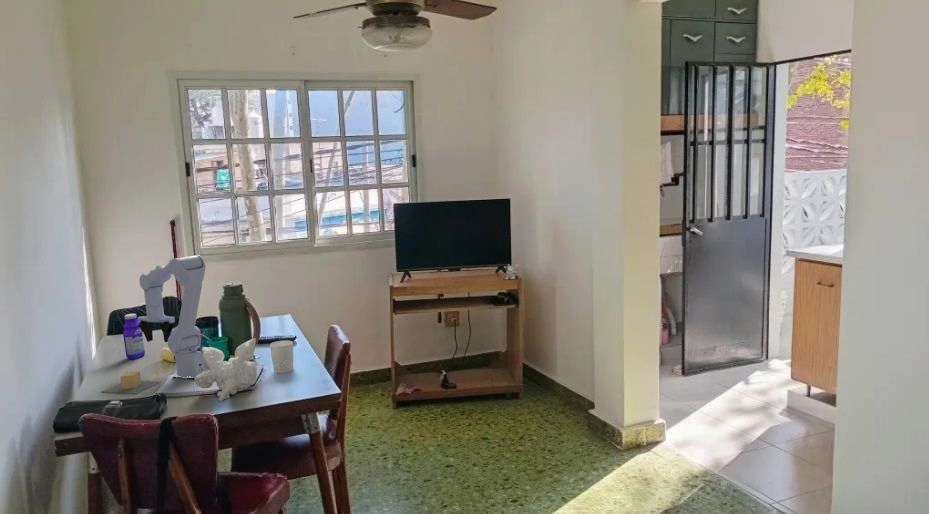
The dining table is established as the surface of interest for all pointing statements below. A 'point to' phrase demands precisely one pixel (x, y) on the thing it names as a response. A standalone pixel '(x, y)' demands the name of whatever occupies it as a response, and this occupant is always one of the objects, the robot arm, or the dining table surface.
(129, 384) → the block
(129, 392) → the placemat
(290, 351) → the white cup
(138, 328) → the bottle
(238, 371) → the white lumpy sculpture
